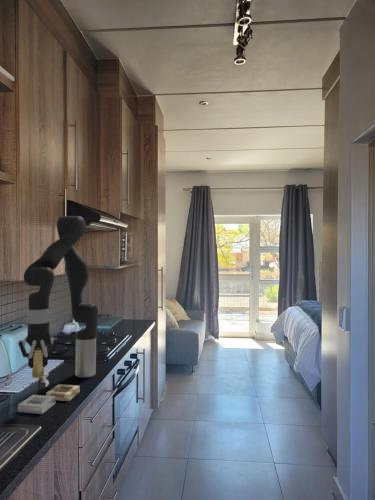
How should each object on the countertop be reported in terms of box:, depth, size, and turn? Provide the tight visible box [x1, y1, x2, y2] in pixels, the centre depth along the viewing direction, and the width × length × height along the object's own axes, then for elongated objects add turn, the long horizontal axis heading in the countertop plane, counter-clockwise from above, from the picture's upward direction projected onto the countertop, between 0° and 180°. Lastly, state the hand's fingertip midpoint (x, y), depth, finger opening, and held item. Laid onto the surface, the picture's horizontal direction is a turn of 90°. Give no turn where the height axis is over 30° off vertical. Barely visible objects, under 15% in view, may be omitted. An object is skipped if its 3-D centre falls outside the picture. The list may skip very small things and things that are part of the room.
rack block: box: [45, 383, 81, 402], centre depth 145 cm, size 10×10×2 cm
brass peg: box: [31, 348, 45, 379], centre depth 134 cm, size 4×4×10 cm
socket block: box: [17, 394, 57, 415], centre depth 134 cm, size 10×10×2 cm
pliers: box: [31, 372, 50, 388], centre depth 161 cm, size 10×2×15 cm
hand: (38, 366), depth 134 cm, fingers closed on brass peg, 4 cm apart
